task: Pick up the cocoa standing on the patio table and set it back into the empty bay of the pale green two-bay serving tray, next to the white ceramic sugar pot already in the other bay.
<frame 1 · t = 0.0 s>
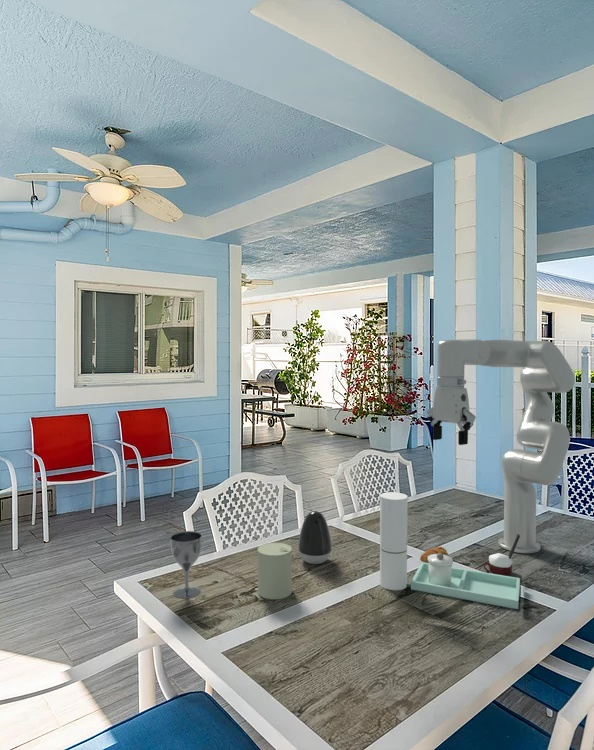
hand: (449, 441, 152), 37 cm above the table, tool pointing down, fingers open, 9 cm apart
cocoa: (501, 576, 148), on the table
black egg-shaped piece: (315, 561, 159), on the table
can: (274, 592, 139), on the table
sugar pot: (439, 582, 142), point 1 cm above the table, touching tray
pastry: (434, 562, 159), on the table
cylindrical container: (393, 588, 141), on the table
wine glass: (186, 592, 139), on the table
tray: (465, 591, 139), on the table
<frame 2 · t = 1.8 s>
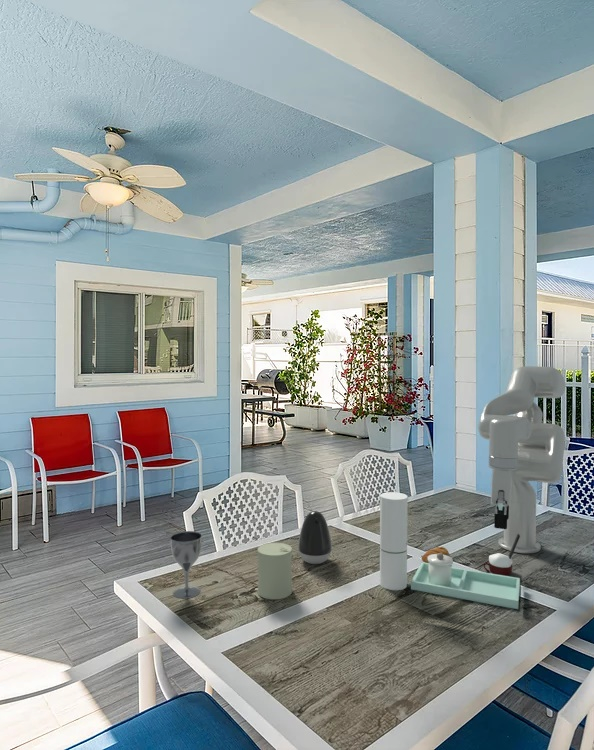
hand: (501, 523, 147), 15 cm above the table, tool pointing down, fingers open, 9 cm apart
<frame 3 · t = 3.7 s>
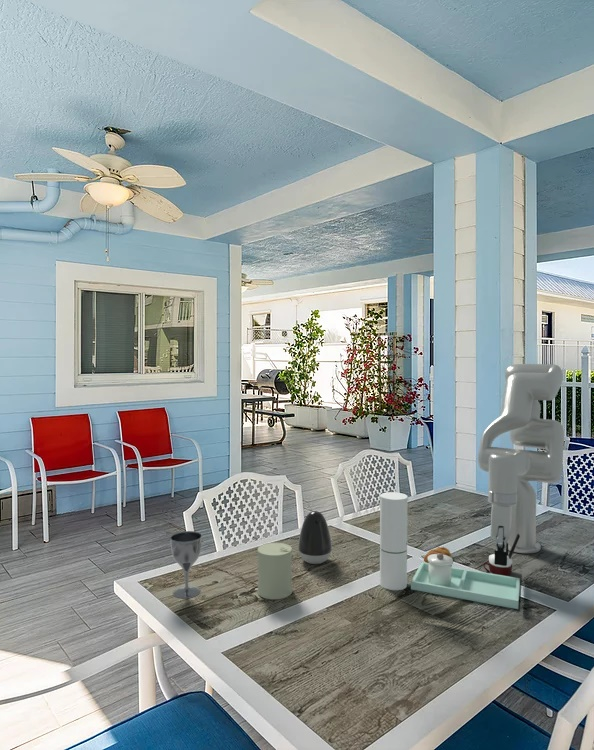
hand: (501, 559, 148), 5 cm above the table, tool pointing down, fingers closed on cocoa, 5 cm apart
cocoa: (501, 576, 148), on the table, touching gripper
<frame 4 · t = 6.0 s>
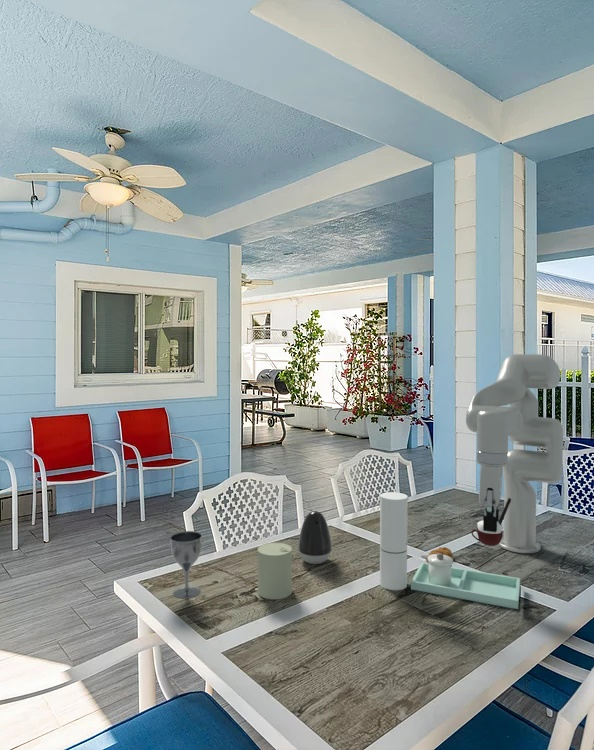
hand: (490, 526, 136), 18 cm above the table, tool pointing down, fingers closed on cocoa, 5 cm apart
cocoa: (490, 544, 136), point 13 cm above the table, touching gripper
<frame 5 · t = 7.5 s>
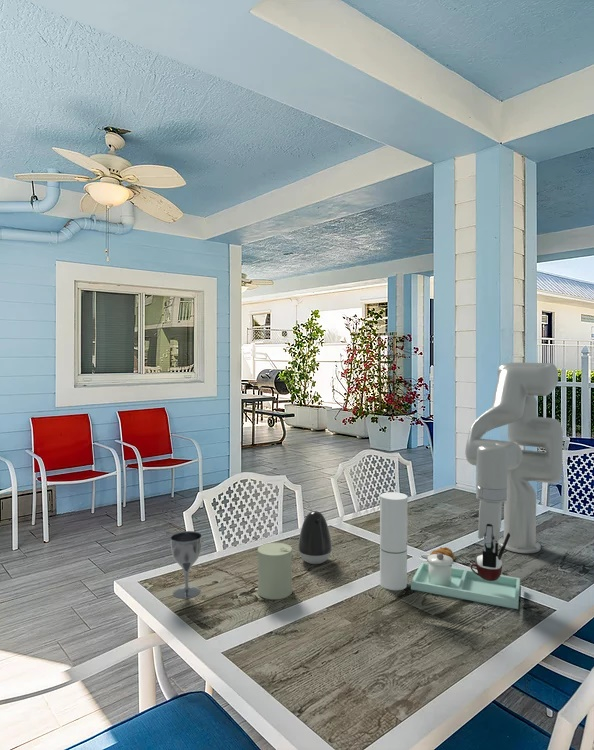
hand: (490, 561, 136), 9 cm above the table, tool pointing down, fingers closed on cocoa, 5 cm apart
cocoa: (490, 579, 136), point 4 cm above the table, touching gripper
when the fingers open (7 cm above the table, at t = 8.7 s): cocoa drops 2 cm, resting on tray.
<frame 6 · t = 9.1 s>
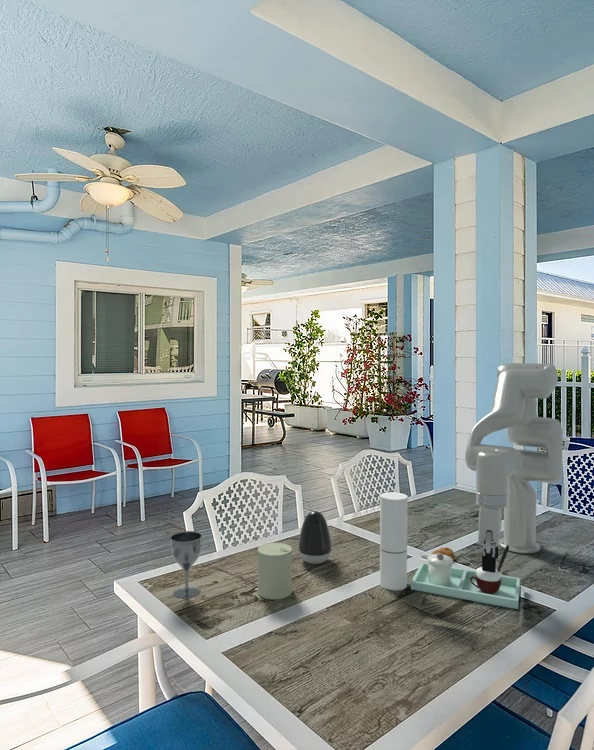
hand: (490, 564, 136), 8 cm above the table, tool pointing down, fingers open, 9 cm apart
cocoa: (489, 591, 137), point 1 cm above the table, touching tray
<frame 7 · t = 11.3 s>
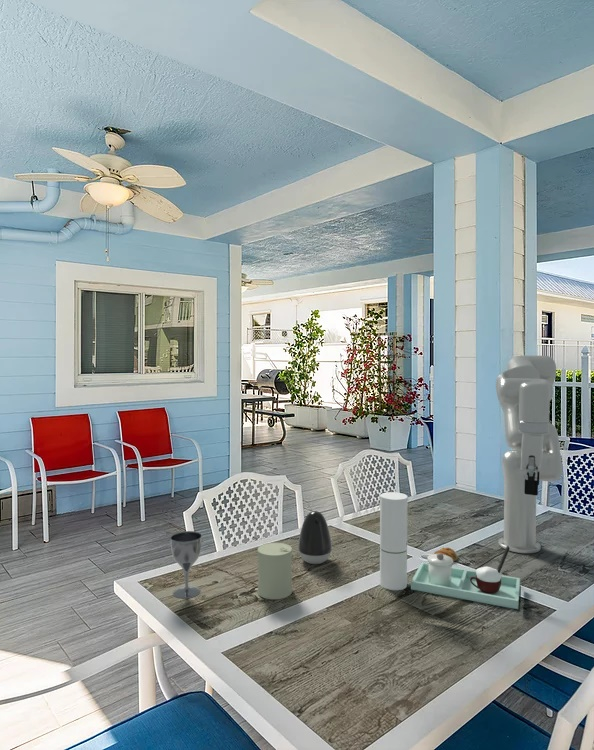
hand: (531, 489, 143), 26 cm above the table, tool pointing down, fingers open, 9 cm apart
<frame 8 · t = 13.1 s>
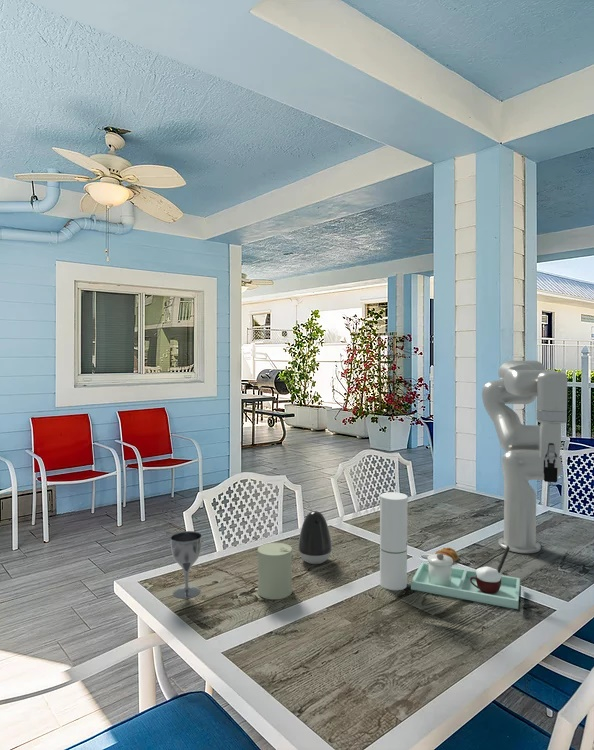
hand: (550, 477, 146), 28 cm above the table, tool pointing down, fingers open, 9 cm apart
at the end: cocoa inside the target area on the tray (0.3 cm from its centre), point 0.8 cm above the tray's base; cocoa tilted 0°; the gripper is holding nothing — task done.
